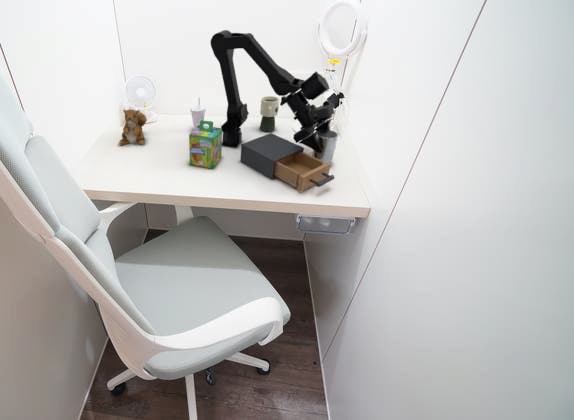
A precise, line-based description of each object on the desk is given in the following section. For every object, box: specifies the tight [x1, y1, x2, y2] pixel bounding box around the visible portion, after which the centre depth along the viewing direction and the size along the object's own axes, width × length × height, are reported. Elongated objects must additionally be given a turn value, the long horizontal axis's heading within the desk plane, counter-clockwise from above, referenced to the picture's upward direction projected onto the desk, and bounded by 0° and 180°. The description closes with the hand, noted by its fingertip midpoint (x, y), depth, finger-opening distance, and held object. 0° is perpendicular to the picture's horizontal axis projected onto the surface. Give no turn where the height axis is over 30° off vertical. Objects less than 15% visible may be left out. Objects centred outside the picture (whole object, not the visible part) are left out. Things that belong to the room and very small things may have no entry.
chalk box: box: [188, 120, 223, 170], centre depth 112 cm, size 9×9×15 cm
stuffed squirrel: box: [118, 108, 148, 146], centre depth 129 cm, size 10×14×13 cm
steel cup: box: [311, 129, 339, 164], centre depth 109 cm, size 7×7×11 cm
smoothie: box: [189, 97, 207, 130], centre depth 134 cm, size 6×6×14 cm
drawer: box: [274, 151, 335, 193], centre depth 102 cm, size 18×13×5 cm
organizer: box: [239, 132, 305, 180], centre depth 111 cm, size 15×14×7 cm
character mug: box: [259, 95, 280, 132], centre depth 132 cm, size 11×7×13 cm, turn 171°
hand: (326, 147), depth 108 cm, fingers open, 9 cm apart
